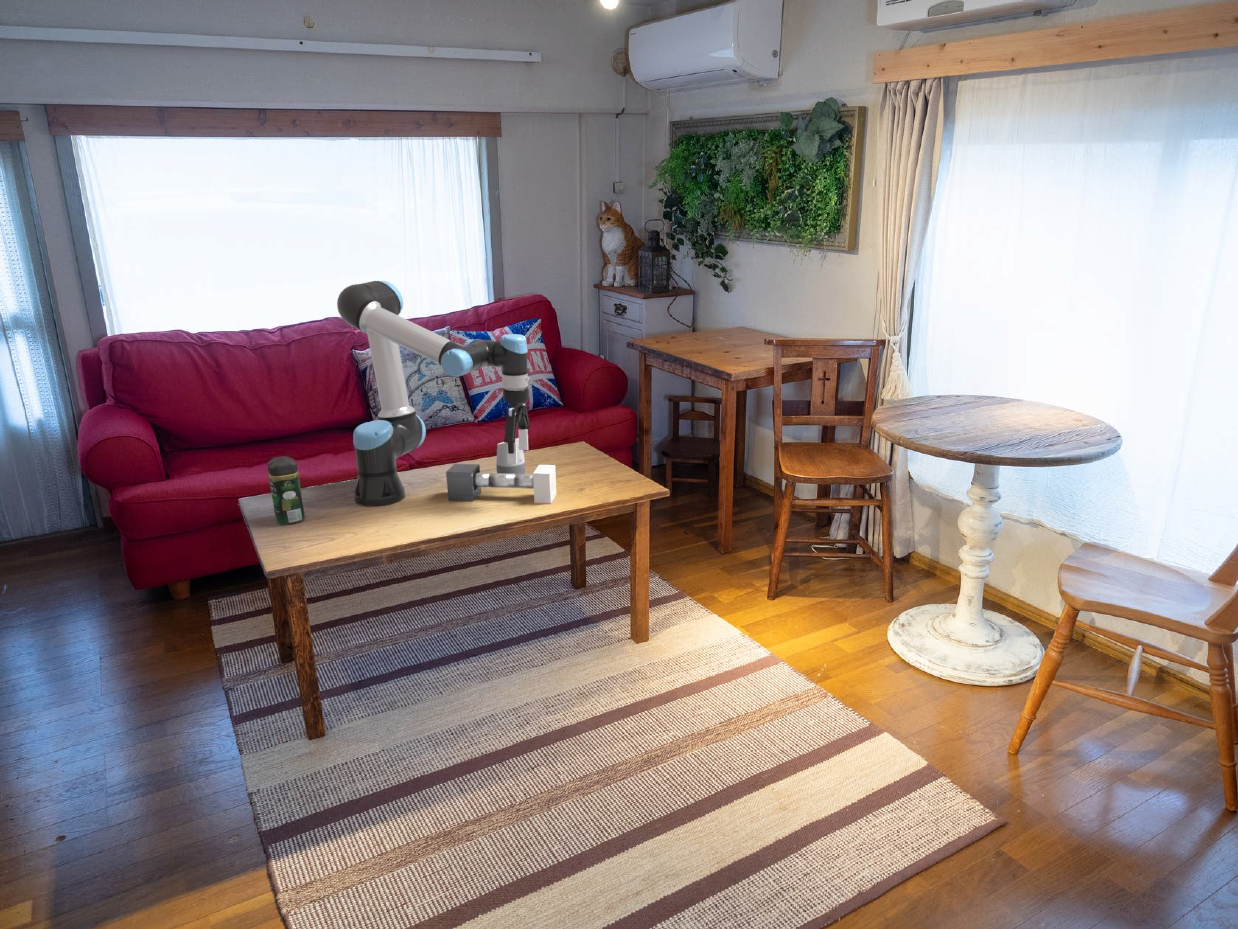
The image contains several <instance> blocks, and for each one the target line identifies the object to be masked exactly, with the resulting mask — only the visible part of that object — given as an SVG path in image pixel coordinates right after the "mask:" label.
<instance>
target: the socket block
mask: <svg viewBox="0 0 1238 929" xmlns="http://www.w3.org/2000/svg"><path fill="white" fill-rule="evenodd" d="M532 474H533V483H534V489H533V498H534V499H533V500H534V504H546V505H548V504H552V502H553V501H554V499H555V498H556V496H557V477H556V465H555V464H554V465H553V464H538V466H537V467H536V469H535V470H534V471H533V472H532Z"/></svg>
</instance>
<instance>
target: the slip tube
mask: <svg viewBox="0 0 1238 929" xmlns="http://www.w3.org/2000/svg"><path fill="white" fill-rule="evenodd" d="M473 482H474V487H481V488H495V489H496V488H498V489H532V490H534V483H533V473H525V474H506V473H497V472H496V473H495V472H493V473H492V472H480V473H474V474H473Z"/></svg>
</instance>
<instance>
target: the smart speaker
mask: <svg viewBox="0 0 1238 929" xmlns="http://www.w3.org/2000/svg"><path fill="white" fill-rule="evenodd" d="M515 442H516V447H517V464H508V462H507V443H504V441H502V442H499V443H497V444H496V446H497V447H496V473H506V474H526V460H525V454H524V453H525V452H524V450H519V437H517V438H516V439H515Z"/></svg>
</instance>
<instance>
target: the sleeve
mask: <svg viewBox="0 0 1238 929" xmlns="http://www.w3.org/2000/svg"><path fill="white" fill-rule="evenodd" d="M480 466H481V465H480V464H479V463H478V464H475V463H474V464H473V463H454V464H452V466H450V467H449V468H448V469H447V470H446V472H445V474H446V475H445V476H446V488H447V500H448V502H450V501H452V502H453V501H455V502H475V500H476V499H477V498H478V497H479V496H480V495H481V494H482V487H474V482H473V474H474V473H481V467H480Z"/></svg>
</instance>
